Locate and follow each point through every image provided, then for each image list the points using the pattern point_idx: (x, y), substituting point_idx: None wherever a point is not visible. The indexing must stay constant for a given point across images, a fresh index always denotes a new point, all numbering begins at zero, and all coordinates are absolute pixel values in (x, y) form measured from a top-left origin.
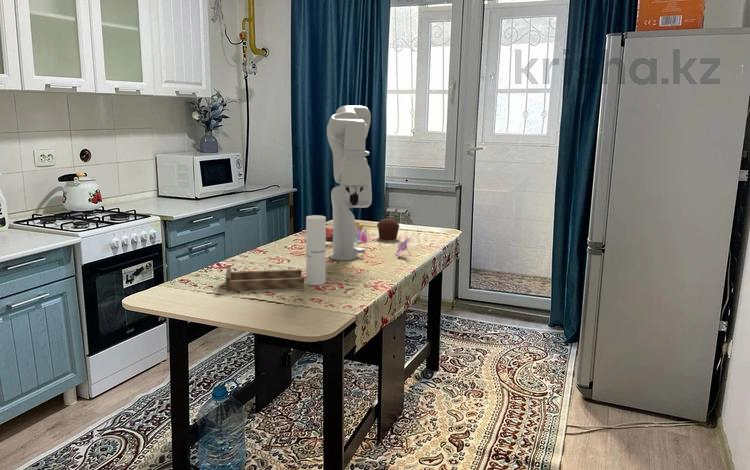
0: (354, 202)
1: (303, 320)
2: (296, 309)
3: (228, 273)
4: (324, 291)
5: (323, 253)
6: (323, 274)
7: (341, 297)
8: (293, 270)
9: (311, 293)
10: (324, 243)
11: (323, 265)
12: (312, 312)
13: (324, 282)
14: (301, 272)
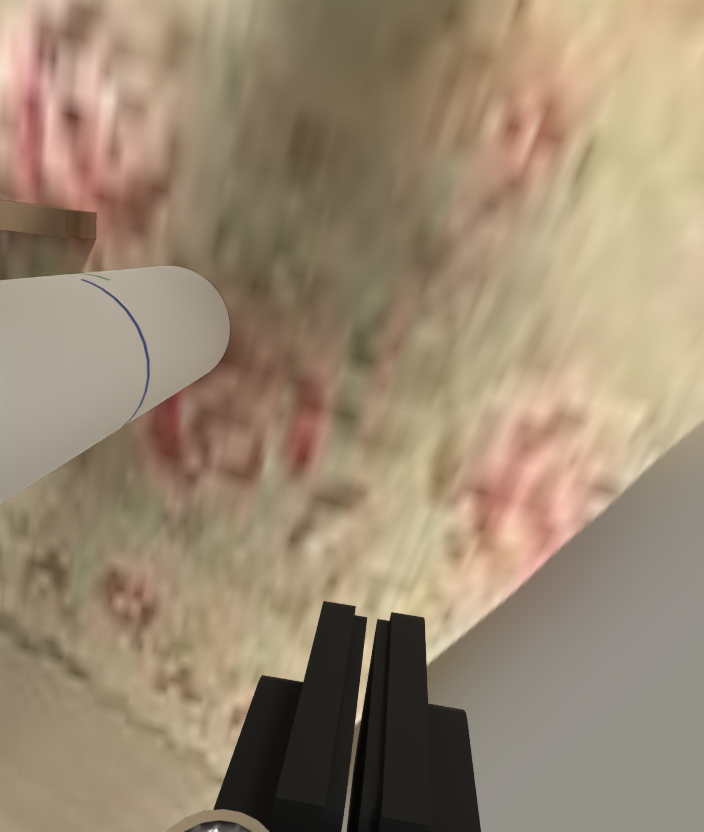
0: (355, 766)
1: (44, 792)
2: (26, 681)
3: None
4: (191, 495)
5: (129, 422)
6: (190, 383)
7: (256, 604)
8: (12, 225)
9: (119, 505)
10: (100, 437)
11: (168, 397)
12: (89, 732)
13: (216, 363)
14: (73, 237)
